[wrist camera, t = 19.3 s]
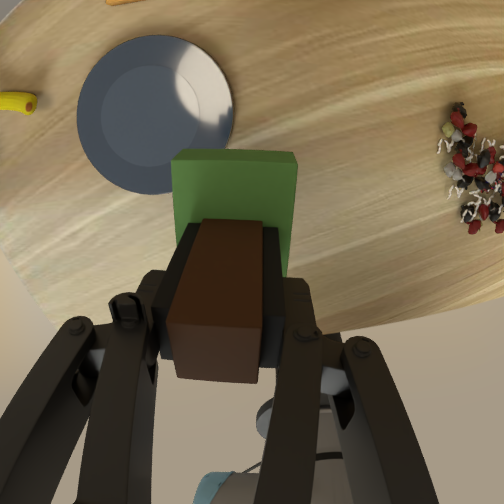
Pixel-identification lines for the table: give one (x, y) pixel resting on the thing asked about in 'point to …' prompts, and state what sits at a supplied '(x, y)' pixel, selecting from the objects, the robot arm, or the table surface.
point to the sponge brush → (226, 256)
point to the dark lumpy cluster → (473, 171)
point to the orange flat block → (120, 2)
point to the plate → (152, 110)
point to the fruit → (18, 102)
